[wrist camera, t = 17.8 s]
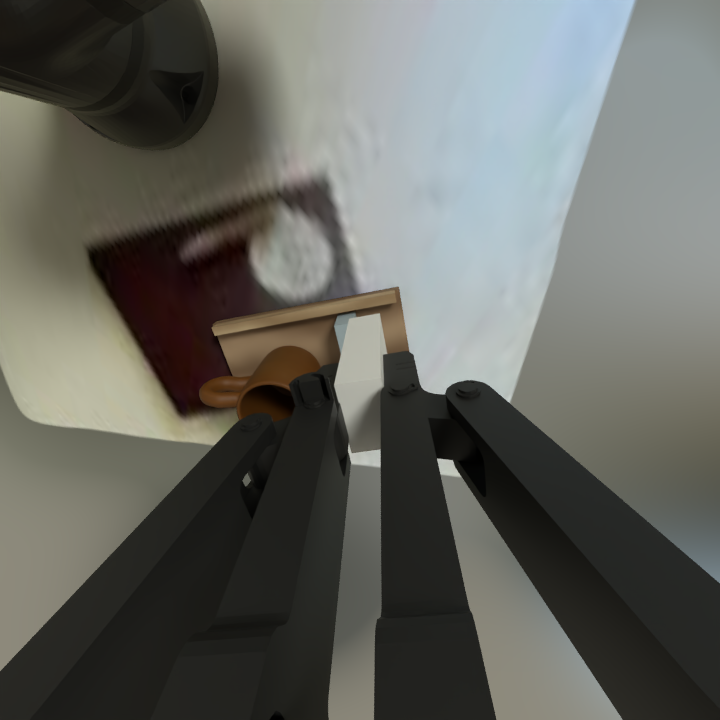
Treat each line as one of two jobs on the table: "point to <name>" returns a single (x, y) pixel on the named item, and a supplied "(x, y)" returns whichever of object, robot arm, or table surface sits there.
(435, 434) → the robot arm
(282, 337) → the housing base
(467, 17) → the table surface
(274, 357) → the mug
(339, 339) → the bar
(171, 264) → the table surface
